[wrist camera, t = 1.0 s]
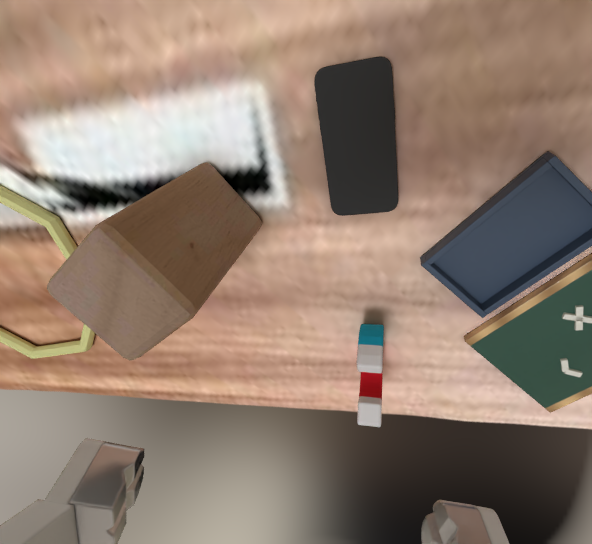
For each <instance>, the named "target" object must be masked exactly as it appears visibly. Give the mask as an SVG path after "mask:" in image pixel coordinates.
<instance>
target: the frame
mask: <svg viewBox="0 0 592 544" xmlns="http://www.w3.org/2000/svg"><path fill="white" fill-rule="evenodd" d="M0 203H2V204H4V205H6V206H8V207H9V208H11V209H13V210H15V211H17V212H19V213H21V214H22V215H24V216H26V217H28V218H30V219H32V220H33V221H35V222H37V223H39V224H41V225H43V226H45V227H46V228H47V230H48V231H49V233H50V234H51V236H52V238H53V239H54V241H55V242H56V244H57V245H58V247H59V249H60V250H61V252H62V253H63V255H64V256H65V258H66V260H67V259H68V258H69V256H70V255H71V254H72V253H73V252H74V251H75V249H76V248H77V246H76V244H75V242H74V241H73V239H72V237H71V236H70V234H69V233H68V231H67V229H66V228H65V226H64V224H63V223H62V221H61V220H60V218H59V217H58V216H56V215H54V214H52V213H50V212H49V211H47V210H45V209H43V208H41V207H39V206H38V205H36V204H34V203H32V202H30V201H28V200H27V199H25V198H23V197H21V196H19V195H17V194H15V193H14V192H12V191H10V190H8V189H6V188H4V187H3V186H1V185H0ZM94 337H95V333H94V332H93V331H92V330H91V329H90V328H89V327H87V326H86V325H85V324H84V327H83V331H82V336H81V340H79V341H72V342H65V343H59V344H52V345H45V346H39V347H37V346H35V345H33V344H31V343H29V342H27V341H25V340H23V339H21V338H19V337H18V336H16V335H14V334H12V333H10V332H8V331H6V330H4V329H2V328H0V342H1V343H3V344H5V345H7V346H9V347H11V348H13V349H15V350H17V351H19V352H20V353H22V354H24V355H26V356H28V357H30V358H32V359H34V358H41V357H49V356H56V355H63V354H71V353H78V352H85V351H87V350H89V349H90V348H91V347H92V345H93V341H94Z"/></svg>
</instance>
